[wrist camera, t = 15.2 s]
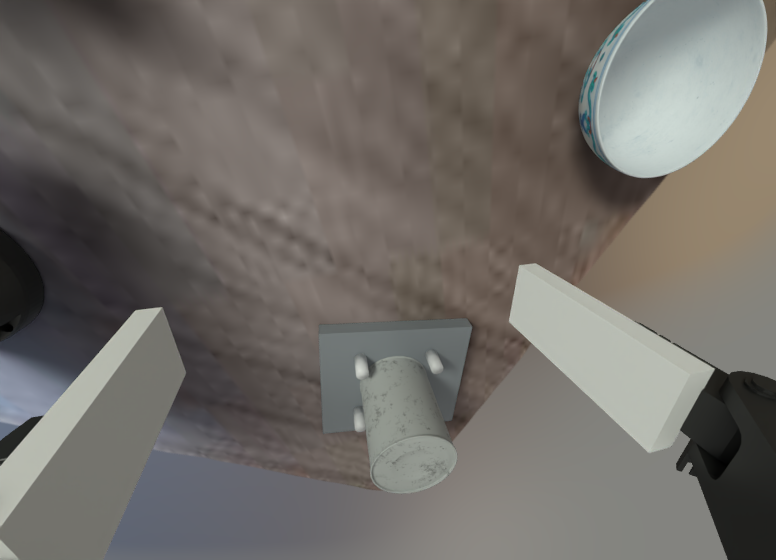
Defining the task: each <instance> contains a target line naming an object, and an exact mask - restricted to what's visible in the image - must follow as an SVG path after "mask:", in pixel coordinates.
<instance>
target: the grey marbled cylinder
mask: <svg viewBox="0 0 776 560" xmlns="http://www.w3.org/2000/svg"><path fill="white" fill-rule="evenodd" d="M368 370H369V376H368V377H367V378H366V379H363V380H361V381H360V391H361V395H362V403H363V411H364V419H365V427H366V436H367V444H368V452H369V460H370V475H371V479H372V481H373V483H374V484H375V485H376V486H377V487H378V488H379V489H382V490H384V491H386V492H390V493H396V494H406V493H414V492H418V491H422V490H425V489H428V488H430V487H432V486H434V485H436V484H438V483H439V482H441V481H442V480H444V479H445V478H446V477H447V476H448V475H449V474H450V473H451V472H452V470H453V469H454V467H455V465H456V462H457V452H456V449H455V447H454V446H453V443H452V441H451V438H450V435H449V433H448V430H447V427H446V425H445V422H444V419H443V417H442V414H441V411H440V409H439V406H438V404H437V401H436V398H435V396H434V393H433V390H432V388H431V385H430V382H429V380H428V377H427V373H426V370H425V368H424V367H423V365H422V364H421V363H420V362H418V361H417V360H415V359H413V358H411V357H406V356H392V357H387V358H384V359H381V360H379V361H377V362H375V363H374V364H372V365H371V366H370V367H369V368H368Z"/></svg>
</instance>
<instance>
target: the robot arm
mask: <svg viewBox="0 0 776 560" xmlns="http://www.w3.org/2000/svg"><path fill="white" fill-rule="evenodd" d="M43 299H44V290H43V284H42V280H41V277H40V275H39V273H38V271H37V269H36V267H35V265H34V264H33V262H32V261H31V259H30V258H29V257H28V255H27V254H26V253H25V252H24V251H23V250H22V249H21V248H20V246H18V245H17V244H16V243H15V242H14V241H13V240H12V239H11V238H10V237H9V236H7V235H6V234H5V233H3V232H2V231H1V230H0V342H1V341H3V340H5V339H7V338H9V337H11V336H12V335H14V334H15V333H17V332H18V331H19V330H21V329H22V328H24V327H25V326H27V325H28V324H29V323H30V322H32V321H33V320H34V319H35V317H36V316H37V315H38V313H39V312H40V310H41V307H42V304H43ZM509 322H510V323H511V324H512V325H513V326H514V327H515V328H516V329H517V330H518V331H519V332H520V333H522V334H523V335H524V336H525V337H526V338H527V339H528V340H529V341H530V342H531V343H532V344H533V345H534V346H535V347H536V348H538V349H539V350H540V351H541V352H542V353H543V354H544V355H545V356H546V357H547V358H548V359H549V360H550V361H551V362H552V363H554V364H555V365H556V366H557V367H558V368H559V369H560V370H561V371H562V372H563V373H564V374H565V375H566V376H567V377H569V378H570V379H571V380H572V381H573V382H574V383H575V384H576V385H577V386H578V387H579V388H580V389H581V390H582V391H583V392H584V393H586V394H587V395H588V396H589V397H590V398H591V399H592V400H593V401H594V402H595V403H596V404H597V405H599V407H601V408H602V409H603V410H604V411H605V412H606V413H607V414H608V415H609V416H610V417H611V418H612V419H613V420H614V421H615V422H616V423H618V424H619V425H620V426H621V427H622V428H623V429H624V430H625V431H626V432H627V433H628V434H629V435H630V436H631V437H632V438H634V439H635V440H636V441H637V442H638V443H639V444H640V445H641V446H642V447H643V448H644V449H645V450H646V451H647V452H648V453H652V452H655V451H659V450H662V449H665V448H669V447H672V445H673V443H674V441H675V439H676V437H677V436H678V434H679V432H680V431H682V432H683V433H684V434H685V435H687V436H688V437H689V438H691V439H690V441H689V443H688V445H687V446H686V448H685V450H684V452H683V453H682V455H681V456H680V458H679V460H678V462H677V463H676V468H677V470H678V471H682V470H683V469H684V467H685V466H686V464H687V462H691V463H692V465H693V467H692V469H691V470H690V472H689V474H690V475H693V476H696V477H697V478H698V481H699V483H700V486H701V489H702V491H703V494H704V497H705V499H706V502H707V505H708V508H709V510H710V513H711V516H712V518H713V521H714V524H715V526H716V529H717V532H718V534H719V537H720V540H721V542H722V545H723V548H724V551H725V553H726V555H727V559H728V560H776V381H775V380H773V379H770V378H768V377H765V376H761V375H758V374H755V373H751V372H743V371H737V372H731V373H730V374H727V373H725V372H723V371H721V370H720V369H718V368H716V367H715V366H713V365H711V364H710V363H708V362H706V361H704V360H703V359H701V358H699V357H697V356H696V355H694V354H692V353H691V352H689V351H687V350H685V349H684V348H682V347H680V346H679V345H677V344H675V343H671V342H670V340H668V339H667V338H665V337H663V336H661V335H657V333H656V332H655V331H653V330H651V329H649V328H648V327H646V326H644V325H643V324H641V323H638V322H636V321H633V320H631V319H629V318H627V317H626V316H624V315H622V314H621V313H619V312H617V311H616V310H614V309H612V308H611V307H609V306H607V305H605V304H604V303H602V302H600V301H599V300H597V299H595V298H593V297H592V296H590V295H588V294H587V293H585V292H583V291H582V290H580V289H578V288H577V287H575V286H573V285H571V284H570V283H568V282H566V281H565V280H563V279H561V278H559V277H558V276H556V275H554V274H553V273H551V272H549V271H548V270H546V269H544V268H542V267H541V266H539V265H537V264H536V263H535V264H527V265H519V270H518V276H517V281H516V286H515V292H514V297H513V303H512V308H511V313H510V319H509ZM185 375H186V371H185V368H184V365H183V362H182V360H181V357H180V354H179V351H178V349H177V346H176V343H175V340H174V338H173V335H172V332H171V329H170V327H169V324H168V321H167V318H166V316H165V313H164V310H163V307H159V308H151V309H142V310H135V312H134V313H133V314H132V315H131V316H130V317H129V318H128V320H127V321H126V322H125V323H124V324H123V325H122V326H121V328H120V329H119V330H118V331H117V332H116V333H115V335H114V336H113V337H112V338H111V339H110V340H109V341H108V343H107V344H106V345H105V346H104V347H103V348H102V350H101V351H100V352H99V353H98V354H97V355H96V356H95V358H94V359H93V360H92V361H91V362H90V363H89V365H88V366H87V367H86V368H85V369H84V370H83V371H82V373H81V374H80V375H79V376H78V377H77V378H76V380H75V381H74V382H73V383H72V384H71V385H70V386H69V388H68V389H67V390H66V391H65V392H64V393H63V394H62V396H61V397H60V398H59V399H58V400H57V401H56V403H55V404H54V405H53V406H52V407H51V408H50V409H49V411H48V412H47V413H46V414H45V415H44V416H38V417H32V418H30V419H29V420H27V421H26V422H25V423H23V424H22V425H21V426H19V427H18V428H17V429H15V430H14V431H12V432H11V433H10V434H9V435H7V436H6V437H4V438H3V439H2V440H1V441H0V560H103V558H104V556H105V554H106V552H107V550H108V547H109V545H110V543H111V541H112V538H113V536H114V534H115V532H116V529H117V527H118V525H119V523H120V520H121V518H122V516H123V513H124V511H125V509H126V507H127V504H128V502H129V500H130V498H131V496H132V493H133V491H134V489H135V487H136V485H137V482H138V480H139V478H140V476H141V473H142V471H143V469H144V467H145V464H146V462H147V460H148V458H149V455H150V453H151V451H152V449H153V446H154V444H155V442H156V440H157V437H158V435H159V433H160V431H161V428H162V426H163V424H164V422H165V420H166V417H167V415H168V413H169V411H170V408H171V406H172V404H173V402H174V399H175V397H176V395H177V393H178V390H179V388H180V386H181V384H182V381H183V379H184V377H185Z"/></svg>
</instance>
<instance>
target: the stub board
mask: <svg viewBox="0 0 776 560" xmlns="http://www.w3.org/2000/svg"><path fill="white" fill-rule="evenodd" d="M471 331H472V326H471V324H470V323H469V321H468V320H467V318H463V319H440V320H417V321H394V322H371V323H348V324H325V325H319V354H320V377H321V401H322V424H323V434H325V433H335V432H345V431H354V430H355V431H357V432H363V431H365V430H366V427H365V419H364V411H363V403H362V395H361V391H360V381H361V380H363V379H366V378H367V377H368V376H369V370H368V368H369V367H370V366H371V365H372V364H374V363H375V362H377V361H379V360H381V359H384V358H387V357H392V356H406V357H411V358H413V359H415V360H417V361H418V362H420V363H421V364H422V365H423V367H424V368H425V370H426V373H427V377H428V380H429V382H430V385H431V388H432V390H433V393H434V396H435V398H436V401H437V404H438V406H439V409H440V411H441V414H442V417H443V419H444V421H452V418H453V413H454V409H455V404H456V399H457V395H458V390H459V386H460V381H461V376H462V372H463V367H464V363H465V358H466V354H467V349H468V344H469V340H470V335H471Z"/></svg>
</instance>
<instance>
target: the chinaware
mask: <svg viewBox="0 0 776 560" xmlns="http://www.w3.org/2000/svg"><path fill="white" fill-rule="evenodd" d="M766 40H767V17H766V11H765V6H764V3H763V0H646V1H645V2H644V3H642V4H641V5H640V6H639V7H637V8H636V9H635V10H634V11H633V12H631V13H630V14H629V15H628V16H627V17H626V18H625V19H624V20H623V21H622V22H621V23H620V24H619V25H618V26H617V27H616V28H615V29H614V30H613V31H612V33H611V34H610V35H609V36H608V37H607V39H606V40H605V41H604V43H603V44H602V45H601V47H600V48H599V50H598V51H597V53H596V55H595V56H594V58H593V60H592V62H591V64H590V66H589V68H588V70H587V72H586V75H585V78H584V81H583V84H582V87H581V92H580V97H579V122H580V127H581V130H582V133H583V136H584V138H585V140H586V142H587V144H588V145H589V147H590V148H591V150H592V151H593V152H594V153H595V154H596V155H597V156H598V157H599V158H600V159H601V160H602V161H603V162H605V163H606V164H607V165H609V166H610V167H612V168H614V169H615V170H617V171H619V172H621V173H623V174H626V175H629V176H632V177H638V178H653V177H659V176H663V175H666V174H669V173H672V172H674V171H677V170H679V169H681V168H683V167H684V166H686V165H688V164H690V163H691V162H693V161H694V160H695V159H697V158H698V157H700V156H701V155H702V154H703V153H705V152H706V151H707V150H708V149H709V148H710V147H711V146H712V145H714V144H715V143H716V142H717V141H718V139H719V138H720V137H721V136H722V135H723V134H724V133H725V132H726V130H727V129H728V128H729V127H730V125H731V124H732V123H733V121H734V120H735V119H736V117H737V116H738V114H739V113H740V111H741V109H742V108H743V106H744V104H745V102H746V101H747V99H748V97H749V95H750V93H751V91H752V89H753V87H754V85H755V82H756V80H757V76H758V74H759V71H760V68H761V64H762V61H763V57H764V53H765V47H766Z"/></svg>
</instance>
